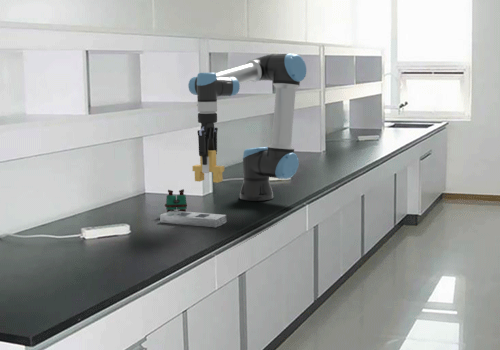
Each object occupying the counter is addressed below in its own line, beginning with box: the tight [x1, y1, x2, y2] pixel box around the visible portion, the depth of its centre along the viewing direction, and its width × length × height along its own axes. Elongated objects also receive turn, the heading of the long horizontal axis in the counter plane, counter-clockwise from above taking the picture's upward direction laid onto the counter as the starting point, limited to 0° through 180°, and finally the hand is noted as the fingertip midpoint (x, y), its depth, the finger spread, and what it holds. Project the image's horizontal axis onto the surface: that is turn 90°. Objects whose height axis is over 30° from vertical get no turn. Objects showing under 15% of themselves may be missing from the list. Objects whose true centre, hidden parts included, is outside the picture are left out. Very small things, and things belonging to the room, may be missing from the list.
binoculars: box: [164, 188, 188, 212], centre depth 292 cm, size 9×11×10 cm
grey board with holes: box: [159, 210, 227, 228], centre depth 276 cm, size 9×24×3 cm, turn 67°
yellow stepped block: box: [192, 150, 225, 184], centre depth 282 cm, size 12×4×12 cm, turn 67°
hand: (208, 171), depth 282 cm, fingers closed on yellow stepped block, 4 cm apart
